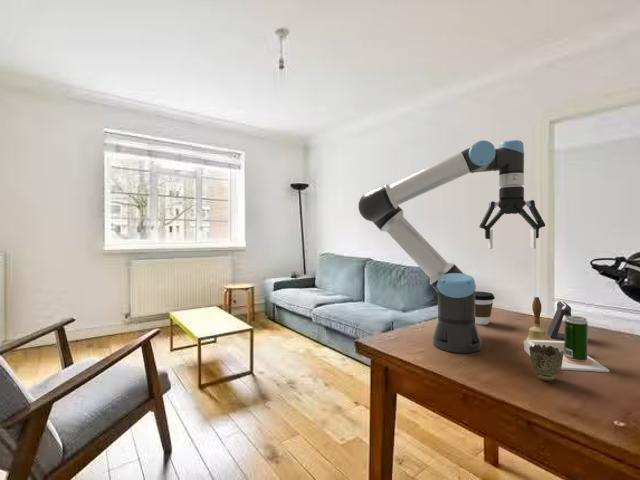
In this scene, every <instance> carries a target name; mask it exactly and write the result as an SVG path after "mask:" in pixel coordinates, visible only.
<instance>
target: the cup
mask: <svg viewBox="0 0 640 480" xmlns="http://www.w3.org/2000/svg"><path fill="white" fill-rule="evenodd" d="M529 350H530V355H529V358H530V364H531V366H532V368H533V370H534V371H535V372H536V373H537V374H536V375H537V378H538V379H540V380H541V381H543V382H553V381H554V380H555V376H557V375H559V373H560V372H561V366H562V360H563V354H564V352H563V351H561V352H559V349H558V348H554V347H552V346H548V347H546V346H545V345H543V346H542V347H541V346H540V345H539V344H538V345H537V346H536V344H535V345H534V347H532V345H531V347H530V346H529Z"/></svg>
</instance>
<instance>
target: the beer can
mask: <svg viewBox="0 0 640 480" xmlns="http://www.w3.org/2000/svg"><path fill="white" fill-rule="evenodd" d="M588 330H589V323H588V320H587V318H585V317H582V316H578V315H571V316H566V317H565V319H564V334H565V340H564V339H563V341H564V355H565V357H566V359H568V360H571V361H574V362H586V360H587V355H588V350H589V349H588V345H589V344H588V342H589V341H588V340H589V339H588V336H589V335H588Z"/></svg>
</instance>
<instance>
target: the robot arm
mask: <svg viewBox="0 0 640 480" xmlns="http://www.w3.org/2000/svg"><path fill="white" fill-rule="evenodd" d="M524 149H525V148H524V142H523V141H522V140H519V139H518V140H517V139H514V140H507V141H503V142H500V143H499V144H498V148H496V147H495V145H494V144H493V143H492V142H491V141H490V140H489V141H488V140H479V141H476V142H474V143H473V144H472V145H471V146H470V147H468V148H465V149H464V150H462V151H460V152H458V153H455V154H453V155H452V156H449V157H447V158H445V159H442V160H440V161H439V162H436V163H434V164H432V165H429V166H428V167H426V168H423V169H421V170H419V171H417V172H415V173H413V174H411V175H409V176H407V177H404V178H402V179H400V180H398V181H396V182H394V183H391V184H387V183H385V184H383V185H380V186H378V187H376V188H374V189H371V190H369V191H366V192H365V193H364V194H362V196H361V197H360V198H359V202H358V211H359V214H360V215H361V216H360V217H362V218H363V219H364V220H366V221H369V222H372V223H373V224H374V225H375V226H376V227H377V228H378V229H379V230H380V232H386V233H387V234H388V235H390V237H391V238H392V239H393V240H394V241H395V242H396V243H397V244H398V245H399V246H400V248H401V249H402V250H403V251H404V252H405V253H406V254H407V255H408V256H409V257H410V258H411V260H413V261H414V263H415V264H416V265H417V266H418V267H419V268H420V269H421V270H422V272H424V273H425V275H427V276H428V278H429V285H430V286H431V287H432V288H434V290H435V291H436V292H437V323H436V326H435V330H434V331H433V334H432V345H433V346H434V347H436V348H437V349H440V350H442V351H445V352H450V353H456V354H457V353H458V354H469V353H476V352H478V351H480V350H481V349H482V339H481V337H480V334H479V331H478V328H477V326H476V325H477V324H475V291H476V289H477V285H476V282H475V281H476V280H475V278H474V277H473V276H471V275H468V274H465V273H464V272H462V271H461V269H460V268H459V267H458V266H457V265H456V264H455V263H452V262H451V263H450V262H448V261H446V260H445V258H444V257H443V256H441V254H440V253H439V252H438V251H437V250H436V249H435V248H434V247H433V246H432V245H431V244H430V243H429V242H428V240H426V239H425V238H424V237H423V235H421V234H420V232H418V231H417V229H416V228H415V227H414V226H413V225H412V224H411V223H410V222H409V221H408V219H406V218H405V217H404V210H403V209H402V208H401V207H400V205H402V204H403V203H406V202H409V200H413V199H415V198H417V197H419V196H421V195H423V194H426V193H428V192H430V191H432V190H434V189H436V188H439V187H442V186H443V185H445V184H448V183H450V182H453V181H455V180H457V179H459V178H461V177H463V176H466V175H469V174H476V173H482V172H497V171H498V172H499V173H498V175H499V178H498V186H499V187H500V188H499V190H498V192H499V193H498V199H499V200H498V201H497V202H496V201H495V200H494V201H490V202H489V203H488V209H487V210H486V213H485V214H484V216H483V218H482V220H481V222H480V224H479V226H478V227H479V228H480V229H483V230H484V238H485V239H486V240H487V248H488V249H490V250H492V249H493V247H494V245H493V240H494V239H493V238H494V237H493V236H494V235H493V234H494V233H493V232H494V231H493V229H491V228H492V227H493V226H495V224H496V223H497V222H498V221H499V220H500V219H501V217H503V215H514V214H515V215H517V214H518V215H520V216H521V217H522V218H523V219H524V220H525V221H526V222H527V223H528V224H529V225H530V226H531V228H530V231H529V234H530V236H529V237H530V238H529V239H530V240H529V241H530V249H536V248H537V239H539V237H540V229H541V228H544V227H546V223H545V222H544V220H543V218H542V216H541V215H540V213H539V211H538V209H537V206H536V203H535V202H536V201H535V200H534V199H531V200H526V201H525V187H524V185H525V150H524ZM525 206H526V207H527V208H529V211H530V213H531V215H532V217H533V218H534V219H533V218H532V217H531V216H530V215H529V213H527V211H526V210H525V209H524V207H525ZM497 207H498V208H499V210H498V212H497V213H496V214H495V215H494V217H492V218H491V216H492V214H493V212H494V210H495V209H496V208H497ZM490 218H491V220H490V221H489V219H490ZM488 221H489V222H488Z"/></svg>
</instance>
